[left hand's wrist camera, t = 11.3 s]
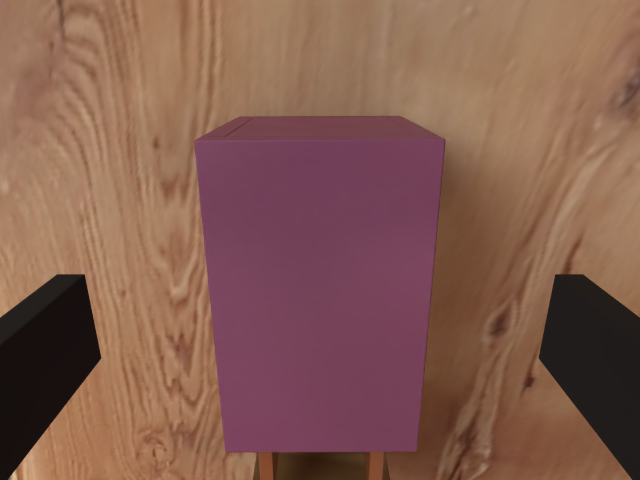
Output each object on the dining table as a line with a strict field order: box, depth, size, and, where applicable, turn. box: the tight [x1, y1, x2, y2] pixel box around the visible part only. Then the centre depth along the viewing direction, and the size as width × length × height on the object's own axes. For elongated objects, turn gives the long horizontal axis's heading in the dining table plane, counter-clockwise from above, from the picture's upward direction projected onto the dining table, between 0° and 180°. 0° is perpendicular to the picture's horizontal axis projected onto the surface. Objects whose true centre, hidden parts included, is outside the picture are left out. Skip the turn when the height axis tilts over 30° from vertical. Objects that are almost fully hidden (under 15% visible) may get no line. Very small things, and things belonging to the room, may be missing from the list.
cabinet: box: [194, 116, 445, 452], centre depth 26 cm, size 16×10×11 cm, turn 0°
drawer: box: [253, 452, 390, 480], centre depth 30 cm, size 21×9×9 cm, turn 0°
